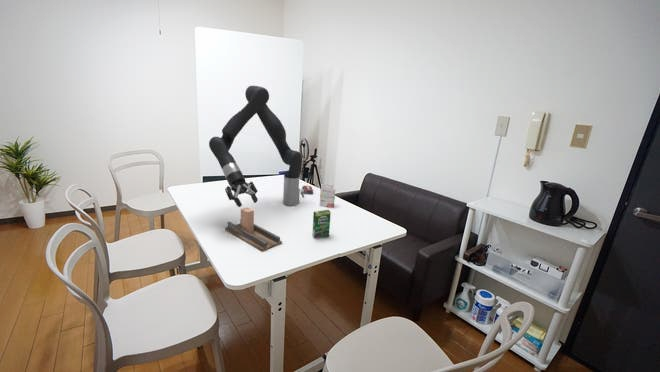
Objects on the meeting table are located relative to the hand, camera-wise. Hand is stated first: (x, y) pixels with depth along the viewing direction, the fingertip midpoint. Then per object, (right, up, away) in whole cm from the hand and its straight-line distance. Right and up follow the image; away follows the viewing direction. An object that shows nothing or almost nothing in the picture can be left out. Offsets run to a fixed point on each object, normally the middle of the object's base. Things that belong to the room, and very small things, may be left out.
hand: (248, 204), depth 133 cm
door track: (+1, -15, +2) cm, 15 cm away
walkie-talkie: (+21, +3, +71) cm, 74 cm away
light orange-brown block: (-2, -13, +4) cm, 14 cm away
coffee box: (+33, -16, +8) cm, 37 cm away
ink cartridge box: (+35, -4, +49) cm, 61 cm away
